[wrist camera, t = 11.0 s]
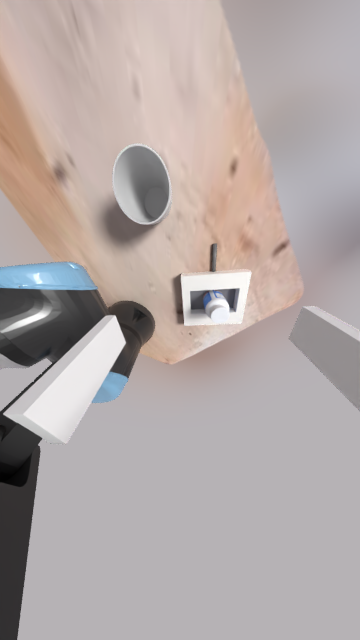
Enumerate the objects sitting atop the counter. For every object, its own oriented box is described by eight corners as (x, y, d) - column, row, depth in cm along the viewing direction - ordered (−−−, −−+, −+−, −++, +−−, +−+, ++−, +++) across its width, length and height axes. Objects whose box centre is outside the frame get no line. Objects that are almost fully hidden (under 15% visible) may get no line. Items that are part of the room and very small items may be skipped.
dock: (184, 320, 41) (184, 325, 39) (179, 246, 31) (178, 247, 28) (238, 318, 40) (241, 323, 37) (251, 240, 29) (257, 240, 27)
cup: (184, 196, 26) (182, 177, 18) (163, 236, 30) (153, 236, 21) (147, 162, 24) (126, 122, 16) (129, 210, 28) (104, 198, 19)
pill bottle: (205, 309, 39) (210, 329, 30) (199, 293, 36) (203, 310, 28) (224, 303, 37) (235, 322, 29) (219, 285, 35) (229, 300, 26)
